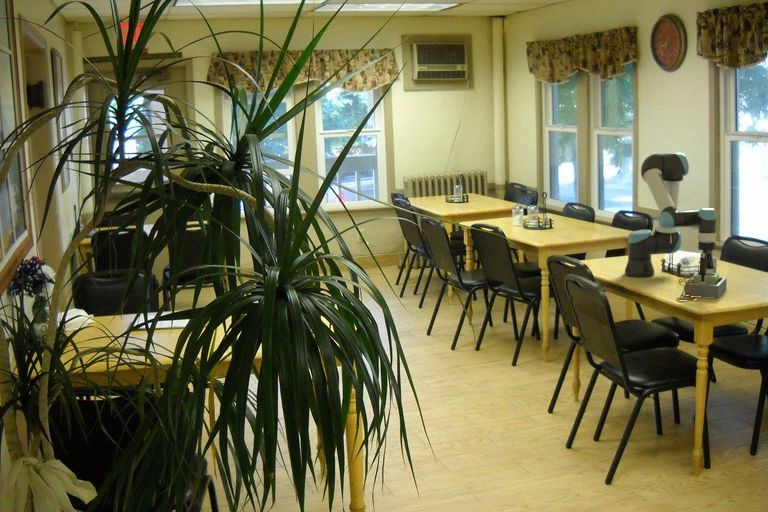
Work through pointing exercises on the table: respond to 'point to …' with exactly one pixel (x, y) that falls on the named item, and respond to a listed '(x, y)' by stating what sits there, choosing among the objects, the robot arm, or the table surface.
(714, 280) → the block
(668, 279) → the table surface
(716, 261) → the medicine box
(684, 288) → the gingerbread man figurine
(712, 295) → the grey open rectangular box
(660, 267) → the table surface
